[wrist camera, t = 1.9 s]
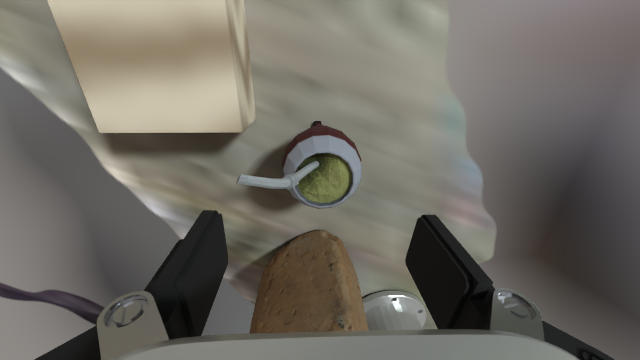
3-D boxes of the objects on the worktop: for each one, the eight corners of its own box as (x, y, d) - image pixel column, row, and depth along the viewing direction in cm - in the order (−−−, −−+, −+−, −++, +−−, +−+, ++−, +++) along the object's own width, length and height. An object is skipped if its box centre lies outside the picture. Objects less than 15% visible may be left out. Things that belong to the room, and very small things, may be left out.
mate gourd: (350, 176, 28) (393, 280, 14) (283, 180, 28) (260, 291, 14) (350, 110, 24) (405, 163, 11) (274, 115, 24) (233, 176, 11)
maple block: (256, 118, 25) (242, 132, 19) (146, 118, 24) (99, 132, 19) (242, -16, 20) (218, -47, 14) (104, -20, 19) (26, -54, 14)
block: (336, 219, 30) (381, 445, 12) (355, 259, 33) (412, 488, 15) (259, 246, 31) (197, 489, 13) (284, 283, 35) (261, 520, 16)
